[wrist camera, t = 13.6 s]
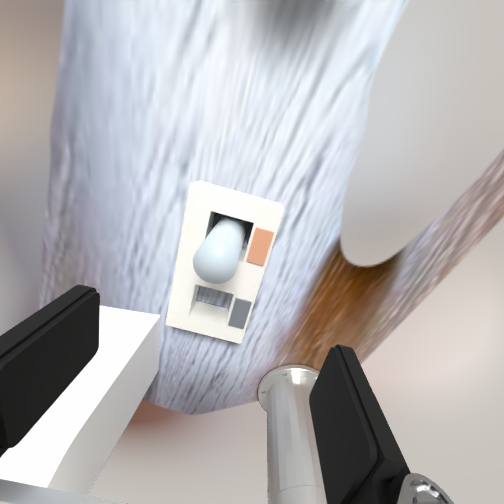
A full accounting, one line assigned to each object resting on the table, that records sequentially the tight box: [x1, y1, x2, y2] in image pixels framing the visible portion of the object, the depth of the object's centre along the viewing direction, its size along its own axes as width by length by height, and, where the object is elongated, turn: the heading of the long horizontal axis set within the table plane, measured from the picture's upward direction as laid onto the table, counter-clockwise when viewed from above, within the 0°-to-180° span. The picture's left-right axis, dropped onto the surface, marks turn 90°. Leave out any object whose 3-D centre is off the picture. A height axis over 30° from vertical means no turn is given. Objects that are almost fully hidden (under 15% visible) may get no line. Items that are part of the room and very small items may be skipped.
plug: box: [193, 215, 246, 284], centre depth 28 cm, size 4×4×12 cm
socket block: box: [166, 180, 284, 344], centre depth 33 cm, size 20×11×4 cm, turn 165°
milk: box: [0, 306, 160, 496], centre depth 29 cm, size 12×12×26 cm
